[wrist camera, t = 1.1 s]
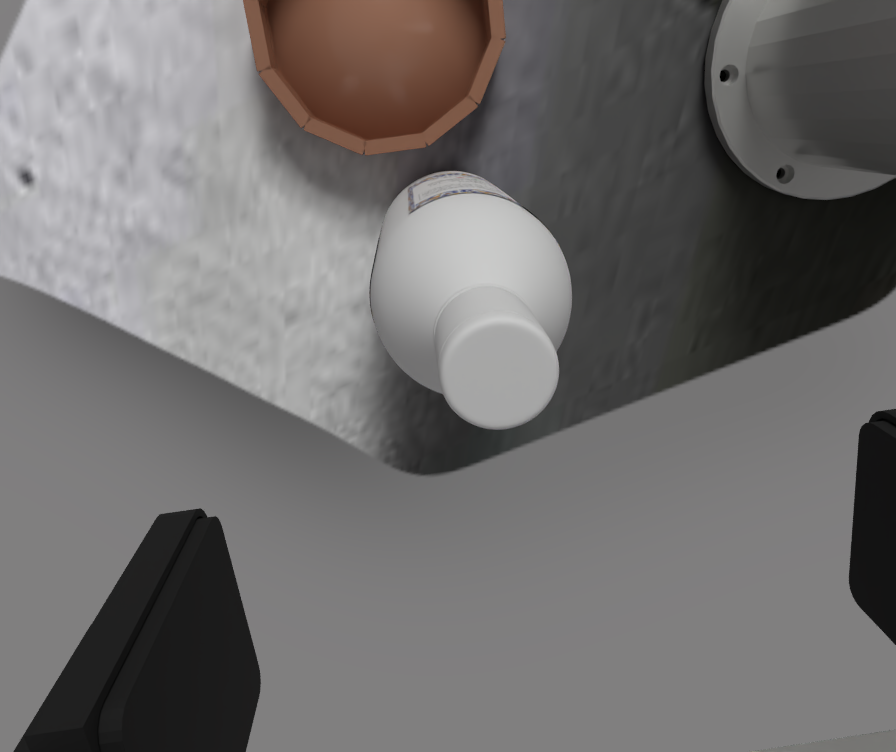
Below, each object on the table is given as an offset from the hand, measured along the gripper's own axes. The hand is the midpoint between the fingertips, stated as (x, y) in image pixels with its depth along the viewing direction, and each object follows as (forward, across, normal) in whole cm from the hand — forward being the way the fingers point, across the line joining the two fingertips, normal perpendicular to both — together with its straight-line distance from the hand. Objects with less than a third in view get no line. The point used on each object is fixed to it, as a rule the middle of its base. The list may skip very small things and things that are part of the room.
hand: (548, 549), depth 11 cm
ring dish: (+27, +2, -10) cm, 29 cm away
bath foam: (+28, 0, 0) cm, 28 cm away
